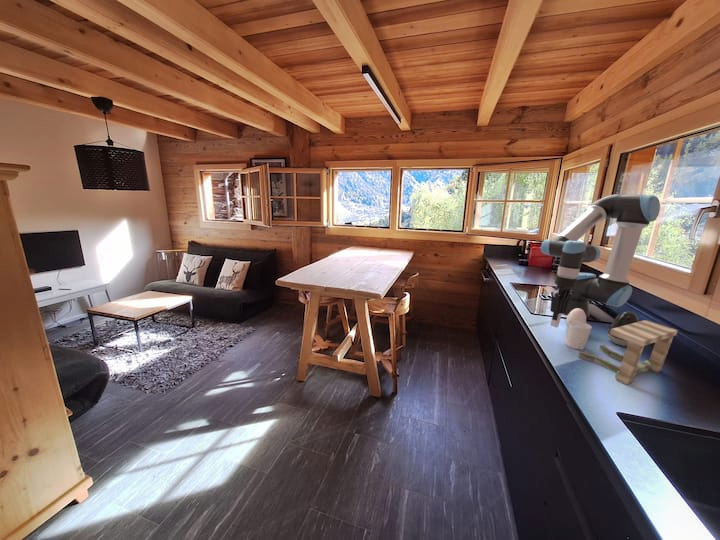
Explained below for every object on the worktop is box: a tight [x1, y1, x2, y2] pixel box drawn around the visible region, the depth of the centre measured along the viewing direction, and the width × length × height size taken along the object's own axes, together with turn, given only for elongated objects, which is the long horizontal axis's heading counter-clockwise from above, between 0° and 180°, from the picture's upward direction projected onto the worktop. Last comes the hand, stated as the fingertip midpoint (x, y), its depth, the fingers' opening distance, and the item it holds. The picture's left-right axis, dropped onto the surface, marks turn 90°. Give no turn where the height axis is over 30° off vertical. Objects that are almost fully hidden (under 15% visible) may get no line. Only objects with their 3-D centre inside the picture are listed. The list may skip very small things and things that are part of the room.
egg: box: [565, 308, 587, 328], centre depth 135 cm, size 7×7×12 cm
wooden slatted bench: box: [578, 319, 679, 386], centre depth 107 cm, size 24×18×17 cm
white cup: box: [564, 321, 593, 351], centre depth 121 cm, size 8×8×10 cm
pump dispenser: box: [607, 310, 640, 347], centre depth 124 cm, size 10×10×15 cm
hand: (554, 326), depth 129 cm, fingers closed
